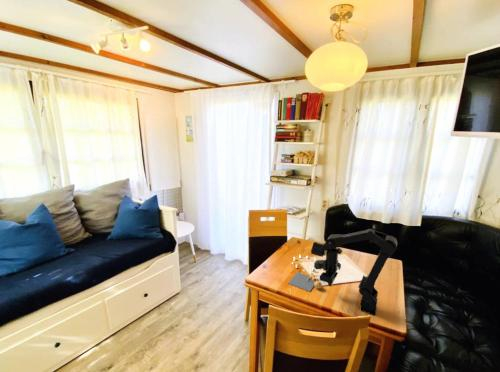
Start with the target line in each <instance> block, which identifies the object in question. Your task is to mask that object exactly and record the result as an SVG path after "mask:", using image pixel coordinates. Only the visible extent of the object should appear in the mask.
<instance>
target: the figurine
mask: <svg viewBox="0 0 500 372" xmlns="http://www.w3.org/2000/svg"><path fill="white" fill-rule="evenodd" d="M309 276H310V277H309V278H308V280H309V279H310V278H312V280H313V281H314V280H315V279H316V282H315V281H314V282H315V283H314V288H316V289H321V288H322V283H321V282H322V281H319V280H318V281H317V279H318V278H317V277H319V278H320V275H318V274H313V273H312V272H311V273H310V275H309Z"/></svg>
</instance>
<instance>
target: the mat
mask: <svg viewBox="0 0 500 372" xmlns="http://www.w3.org/2000/svg"><path fill="white" fill-rule="evenodd" d="M310 276H311V275H308V274H305V273H302V272H299V271H297V272H296V273H295V275H293V277H292V278H291V279H290V280H289V281H288V282H287V284H288V285H291V286H292V287H296V288H299V289H302V290H304V291H306V292H307V293H308V292H309V293H310V292H311V291H312V290H313V288H315V286H314V283H315V282H316V279H315V280H314V281H315V282H314V281H313V280H312V278H310V279H309V280H308V278H309V277H310ZM317 281H319V278H317Z"/></svg>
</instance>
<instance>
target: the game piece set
mask: <svg viewBox="0 0 500 372" xmlns="http://www.w3.org/2000/svg"><path fill="white" fill-rule="evenodd" d="M299 258H300V259H302V256H301V254H299V256H298V259H299ZM305 258H306V259H310V258H309V255H306V256H305ZM292 259H293V260H292V262H291V264H292V265H295V269H297V268H298V266H299V264H298V263H297V264H295V261H296V259H297V258H296V256H293V258H292ZM293 261H294V262H293ZM313 261H314V262H316V261H317V258H316V257H315V256H313ZM302 270H303V272H306V270H305V269H303V268H302ZM315 270H316V269H315V267H314V266H313V267H311V271H312V272H315Z"/></svg>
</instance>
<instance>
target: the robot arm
mask: <svg viewBox="0 0 500 372" xmlns="http://www.w3.org/2000/svg"><path fill="white" fill-rule="evenodd" d="M367 240H368V241H369V240H370V241H371V242H373V243H374V244H375V245H376V246H378V247H380V249H379V253H378V255H377V257H376V259H375V261H374V263H373V265H372V267H371V269H370V271H369V273H368V274H367V275H364V274H363V275H362V278H361V280H360V281H359V283H358V287H357V288H358V293H359V294H360V296H361V298H360V303H359V306H360V311H362V312H364V313H367V314H370V315H372V316H376V314H377V313H376V312H377V308H378V307H377V305H378V296H379V295H378V294H379V292H378V290H377V289H376V287H375V285H376V281H377V279H378V278H379V275H380V274H381V271H382V270H383V268H384V266H385V264H386V263H387V260H388V259H389V258H390V257H391V256H392V255H393V254H394V253H395V252H396V250H397V248H398V247H397V246H398V240H397V238H396V237H394V236H392V235H388V234H386V233H385V232H380V231H377V230H375V229H373V228H368V229H365V230H360V231H356V232H351V233H347V234H339V233H337V234H336V233H335V234H333V233H332V234H330V235H329V236H328V238H327V239H326V240H325V242H324V243H320V242H317V241H314V242H313V243H312V246H311V250H310V253H311V255H313V256H317V257H324V256H325V259H318V260H317V259H316V261H314V263H313V267H314V268H315V270H323V271H324V272H321V274H320V275H319V276H320V277H319V280H320V282H325V283H327V284H328V286H329V287H331V286H332V285H333V283H334V282H335V280H336V278H337V276H338V273H339V272H337V271H338V270H339V271H340V270H341V268H342V264H341V263H340V262H339V260H338V259H339V255H341V254H342V253H343V250H342V248H340V247H342V246H344V245H347V244H350V243H351V244H352V243H358V242H361V241H367Z"/></svg>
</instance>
